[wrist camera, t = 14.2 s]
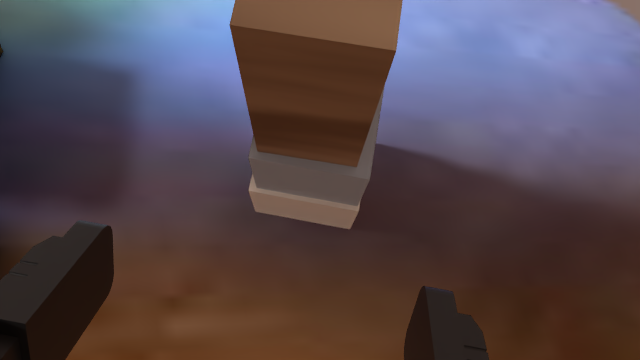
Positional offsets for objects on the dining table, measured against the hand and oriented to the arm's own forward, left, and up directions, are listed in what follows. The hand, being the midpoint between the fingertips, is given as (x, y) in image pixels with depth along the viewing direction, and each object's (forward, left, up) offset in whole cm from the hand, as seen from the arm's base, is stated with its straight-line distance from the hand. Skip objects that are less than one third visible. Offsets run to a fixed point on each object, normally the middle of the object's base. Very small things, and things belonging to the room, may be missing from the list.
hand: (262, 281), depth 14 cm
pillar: (+7, +6, -9) cm, 12 cm away
